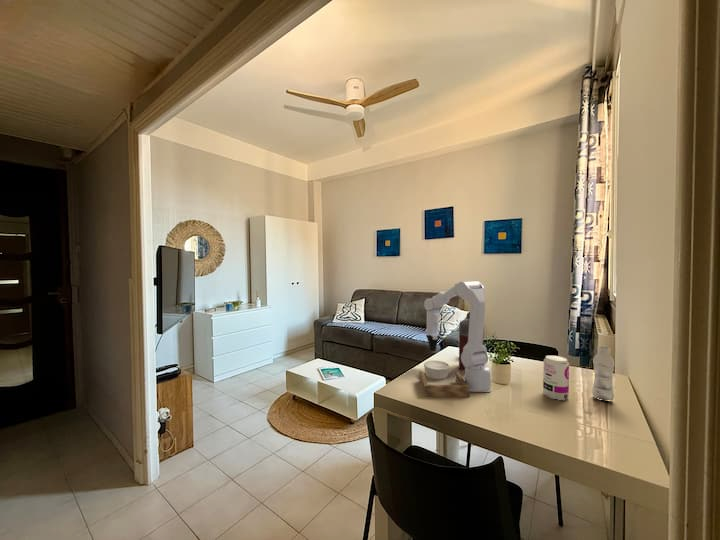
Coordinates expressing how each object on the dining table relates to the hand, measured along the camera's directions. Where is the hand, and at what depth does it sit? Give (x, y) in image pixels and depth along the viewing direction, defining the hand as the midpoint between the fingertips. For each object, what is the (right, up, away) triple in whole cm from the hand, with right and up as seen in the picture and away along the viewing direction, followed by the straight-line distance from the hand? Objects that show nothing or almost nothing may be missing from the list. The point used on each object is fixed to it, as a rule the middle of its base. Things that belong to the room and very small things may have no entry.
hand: (432, 350), depth 148 cm
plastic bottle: (+56, -10, -34) cm, 66 cm away
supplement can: (+40, -10, -31) cm, 52 cm away
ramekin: (-1, -9, -10) cm, 14 cm away
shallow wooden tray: (-1, -9, -23) cm, 25 cm away
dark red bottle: (+19, -9, -1) cm, 21 cm away
